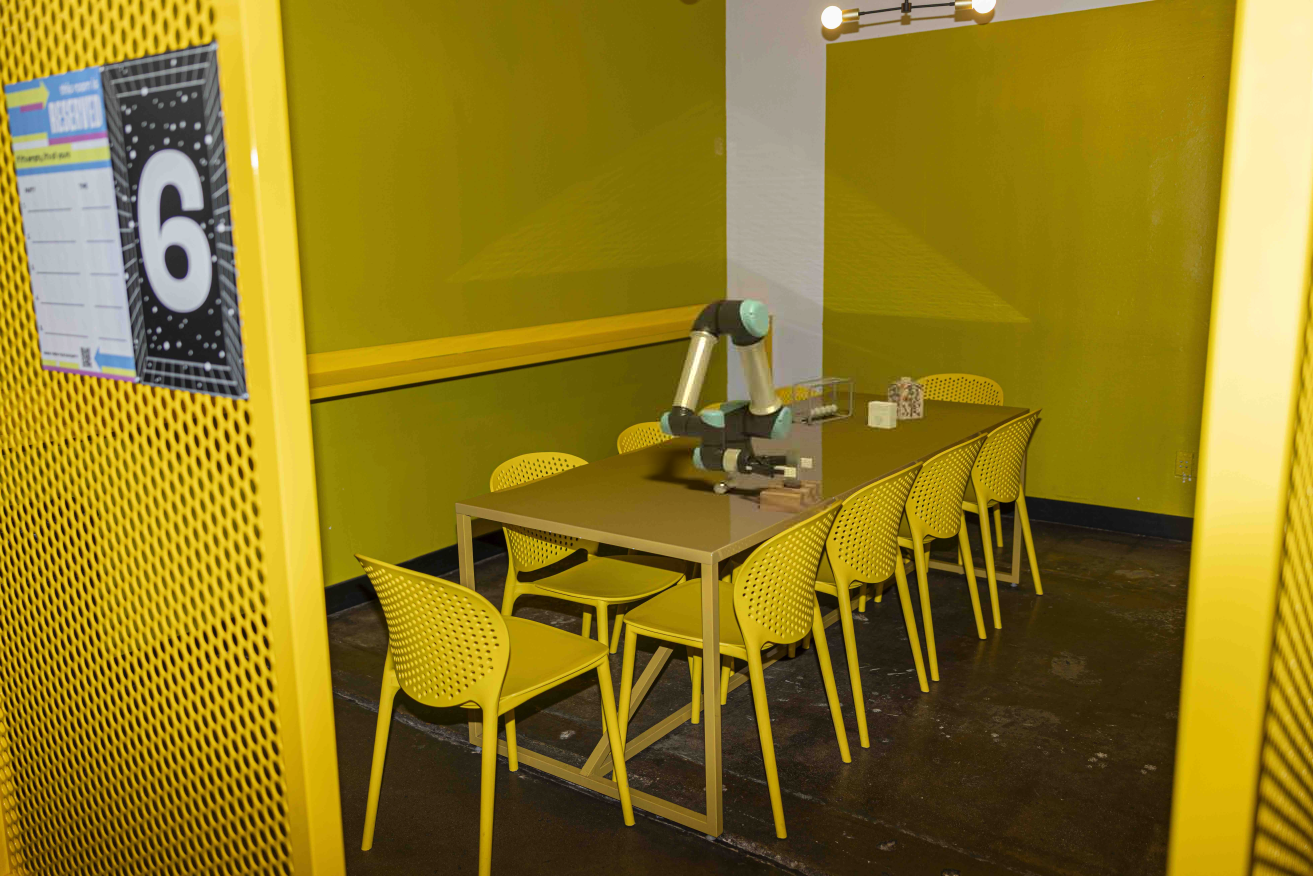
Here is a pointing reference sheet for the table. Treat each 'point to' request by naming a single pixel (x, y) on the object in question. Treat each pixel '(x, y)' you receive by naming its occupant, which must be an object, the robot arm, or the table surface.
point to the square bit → (794, 462)
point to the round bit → (725, 485)
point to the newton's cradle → (827, 409)
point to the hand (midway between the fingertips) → (803, 468)
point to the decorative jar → (907, 398)
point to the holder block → (790, 496)
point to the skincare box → (882, 414)
